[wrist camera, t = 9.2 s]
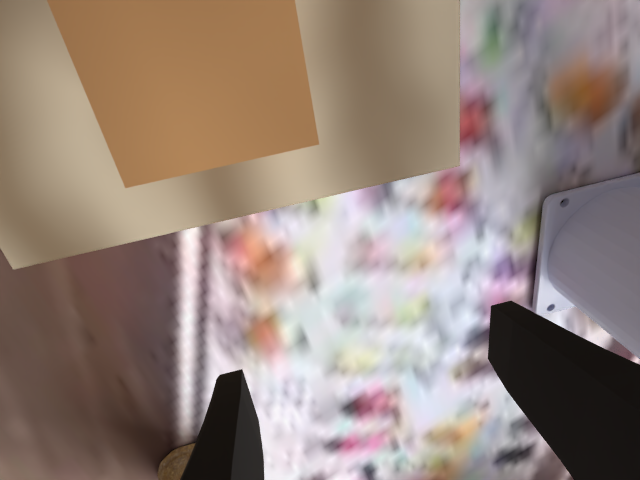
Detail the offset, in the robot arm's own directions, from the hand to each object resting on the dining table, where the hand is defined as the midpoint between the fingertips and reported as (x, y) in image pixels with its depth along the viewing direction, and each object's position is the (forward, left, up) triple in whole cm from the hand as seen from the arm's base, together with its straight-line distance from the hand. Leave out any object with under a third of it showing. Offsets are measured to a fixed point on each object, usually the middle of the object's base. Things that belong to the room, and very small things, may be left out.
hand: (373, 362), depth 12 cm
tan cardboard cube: (+3, -8, -9) cm, 12 cm away
